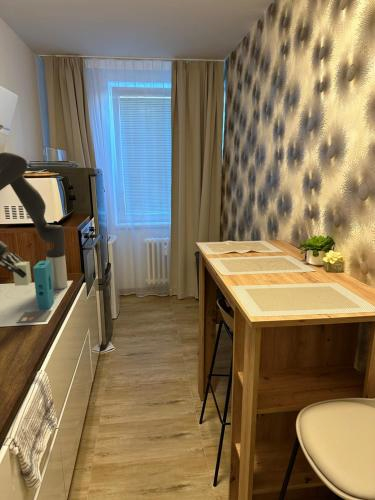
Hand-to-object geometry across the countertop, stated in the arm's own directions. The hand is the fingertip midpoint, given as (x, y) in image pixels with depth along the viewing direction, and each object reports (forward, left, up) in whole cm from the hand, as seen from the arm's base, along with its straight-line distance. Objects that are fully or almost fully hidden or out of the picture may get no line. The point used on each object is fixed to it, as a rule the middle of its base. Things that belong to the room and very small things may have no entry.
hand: (27, 273), depth 143 cm
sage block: (0, -2, -4) cm, 4 cm away
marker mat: (-2, 0, -20) cm, 20 cm away
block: (-14, +2, -20) cm, 25 cm away
